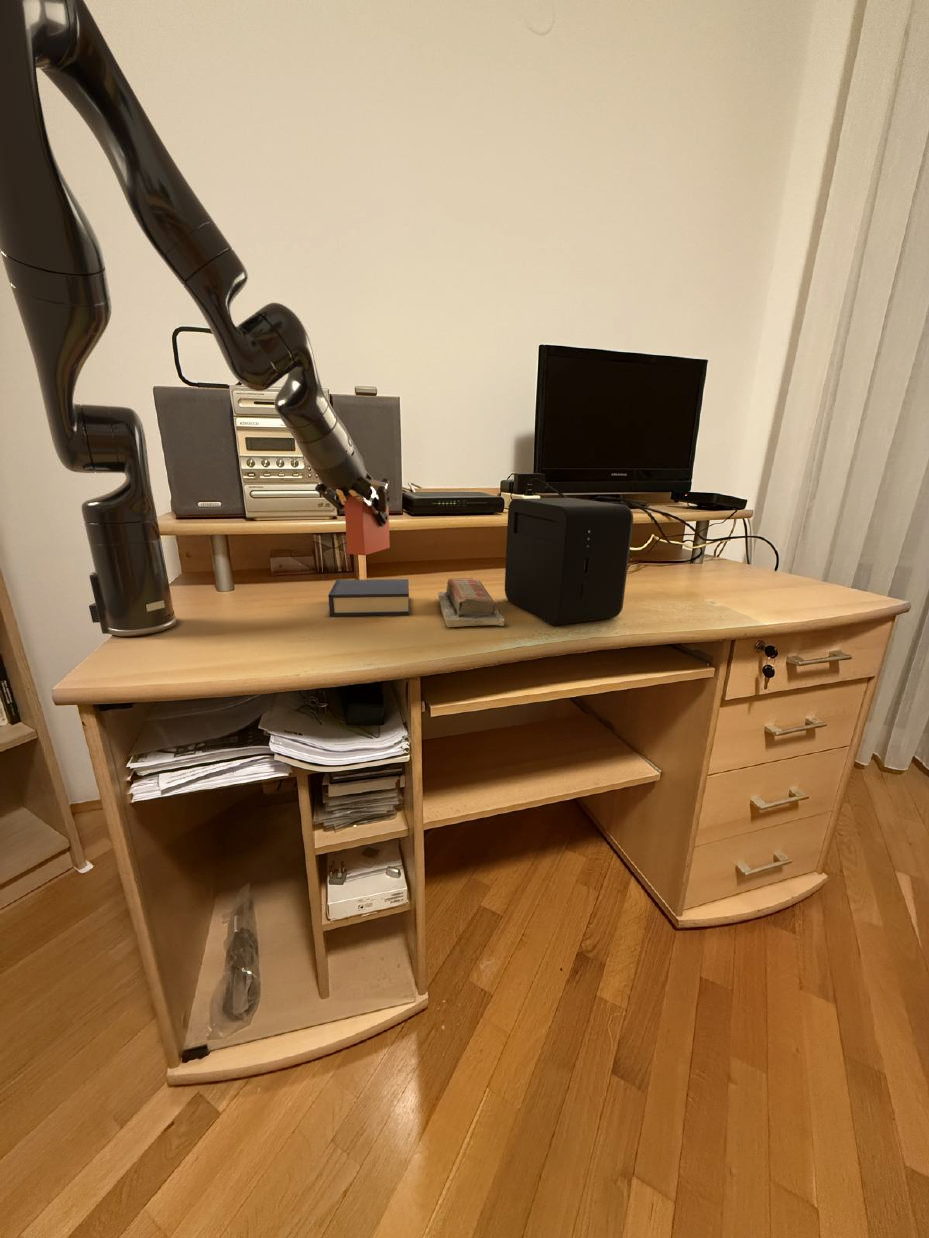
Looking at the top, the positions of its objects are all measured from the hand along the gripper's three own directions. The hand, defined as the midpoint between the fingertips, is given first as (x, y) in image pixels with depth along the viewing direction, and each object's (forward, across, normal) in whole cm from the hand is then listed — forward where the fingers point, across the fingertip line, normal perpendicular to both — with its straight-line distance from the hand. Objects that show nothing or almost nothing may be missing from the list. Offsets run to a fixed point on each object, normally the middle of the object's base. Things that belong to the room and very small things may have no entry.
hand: (373, 521), depth 89 cm
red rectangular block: (+2, 0, -5) cm, 5 cm away
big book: (+10, 0, -12) cm, 16 cm away
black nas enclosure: (+20, +33, -3) cm, 39 cm away
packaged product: (+13, +18, -10) cm, 24 cm away
